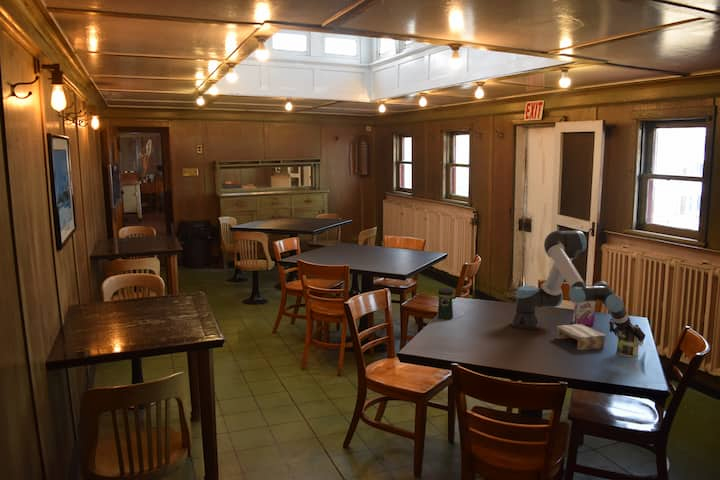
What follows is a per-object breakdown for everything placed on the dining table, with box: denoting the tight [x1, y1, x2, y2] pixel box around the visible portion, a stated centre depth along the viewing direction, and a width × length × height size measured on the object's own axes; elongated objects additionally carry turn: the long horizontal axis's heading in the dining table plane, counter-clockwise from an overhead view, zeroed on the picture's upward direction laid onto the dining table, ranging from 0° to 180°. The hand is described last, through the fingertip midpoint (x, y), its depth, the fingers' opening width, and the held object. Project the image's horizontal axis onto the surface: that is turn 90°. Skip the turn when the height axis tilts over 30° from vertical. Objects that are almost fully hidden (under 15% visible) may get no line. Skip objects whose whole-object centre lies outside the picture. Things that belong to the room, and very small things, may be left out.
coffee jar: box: [436, 287, 455, 320], centre depth 355 cm, size 10×8×19 cm
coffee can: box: [616, 327, 642, 358], centre depth 298 cm, size 10×10×14 cm
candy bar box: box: [572, 301, 597, 326], centre depth 347 cm, size 11×5×16 cm, turn 84°
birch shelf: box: [556, 323, 606, 351], centre depth 314 cm, size 16×20×7 cm
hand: (630, 341), depth 301 cm, fingers closed on coffee can, 10 cm apart
